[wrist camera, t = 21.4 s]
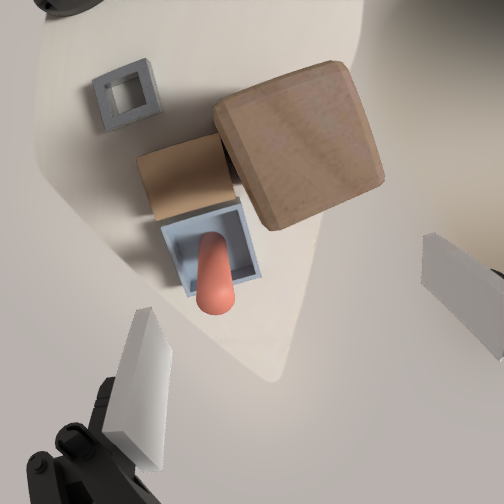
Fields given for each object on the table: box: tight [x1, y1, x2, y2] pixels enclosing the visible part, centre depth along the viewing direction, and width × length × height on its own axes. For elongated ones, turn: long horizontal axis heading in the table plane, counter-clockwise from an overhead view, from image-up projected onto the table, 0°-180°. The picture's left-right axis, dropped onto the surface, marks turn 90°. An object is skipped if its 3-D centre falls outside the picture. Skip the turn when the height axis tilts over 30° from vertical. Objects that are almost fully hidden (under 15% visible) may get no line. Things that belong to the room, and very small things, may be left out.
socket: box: [92, 58, 164, 131], centre depth 32 cm, size 7×7×3 cm
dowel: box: [196, 231, 235, 315], centre depth 35 cm, size 4×4×14 cm
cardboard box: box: [136, 133, 236, 221], centre depth 37 cm, size 8×10×4 cm
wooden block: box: [213, 60, 385, 231], centre depth 28 cm, size 10×10×20 cm
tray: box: [160, 197, 261, 297], centre depth 41 cm, size 10×10×4 cm
